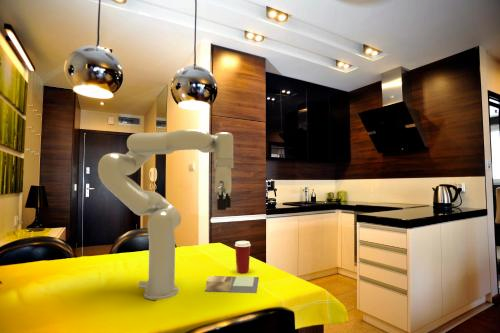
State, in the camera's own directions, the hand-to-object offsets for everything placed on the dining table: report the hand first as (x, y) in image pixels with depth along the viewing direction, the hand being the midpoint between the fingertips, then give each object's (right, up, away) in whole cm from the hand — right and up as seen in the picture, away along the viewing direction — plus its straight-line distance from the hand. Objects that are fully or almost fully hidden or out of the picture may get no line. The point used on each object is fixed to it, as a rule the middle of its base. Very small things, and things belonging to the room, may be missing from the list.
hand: (224, 208), depth 105 cm
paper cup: (+6, -34, +23) cm, 41 cm away
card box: (-2, -32, +3) cm, 32 cm away
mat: (+3, -32, +7) cm, 33 cm away
